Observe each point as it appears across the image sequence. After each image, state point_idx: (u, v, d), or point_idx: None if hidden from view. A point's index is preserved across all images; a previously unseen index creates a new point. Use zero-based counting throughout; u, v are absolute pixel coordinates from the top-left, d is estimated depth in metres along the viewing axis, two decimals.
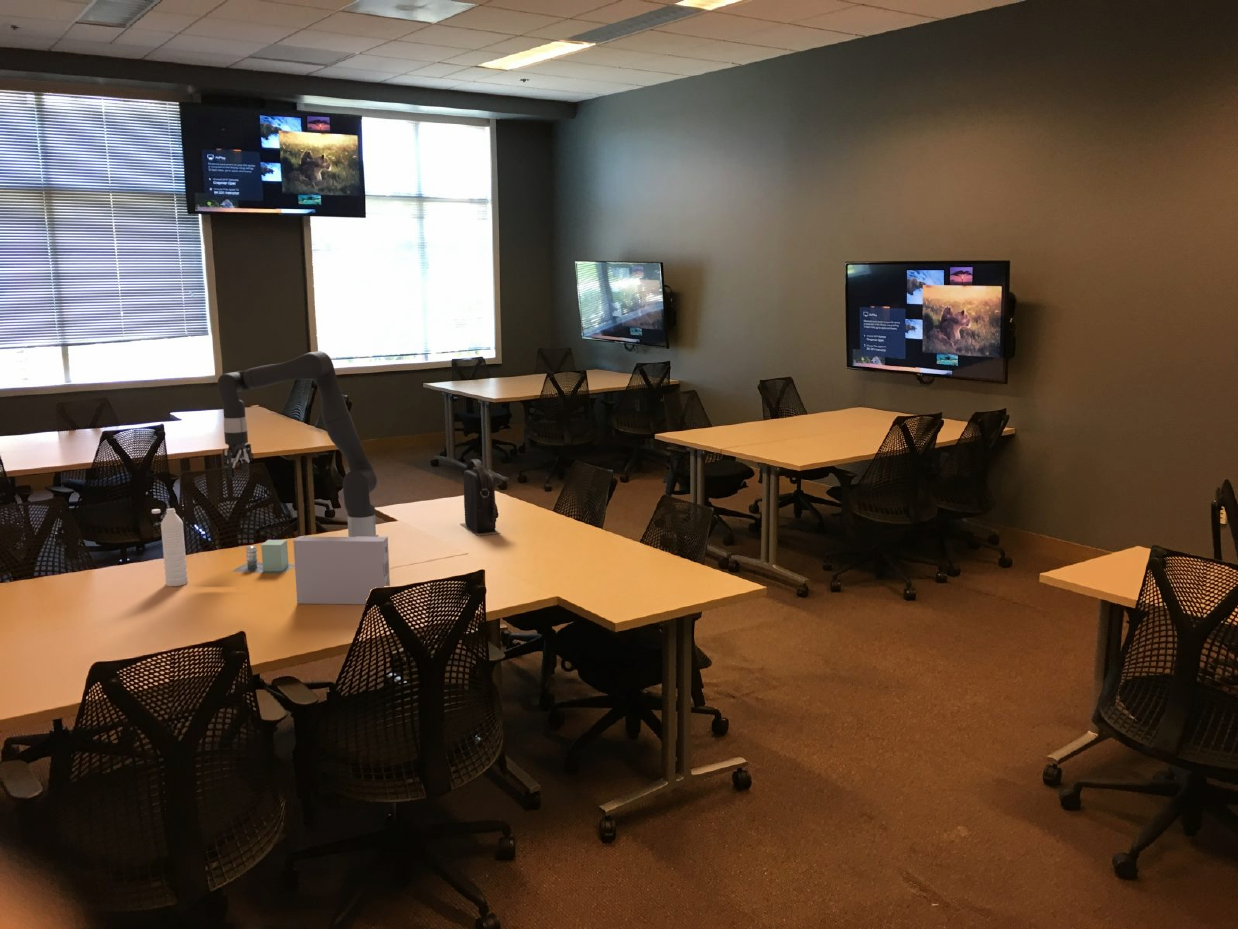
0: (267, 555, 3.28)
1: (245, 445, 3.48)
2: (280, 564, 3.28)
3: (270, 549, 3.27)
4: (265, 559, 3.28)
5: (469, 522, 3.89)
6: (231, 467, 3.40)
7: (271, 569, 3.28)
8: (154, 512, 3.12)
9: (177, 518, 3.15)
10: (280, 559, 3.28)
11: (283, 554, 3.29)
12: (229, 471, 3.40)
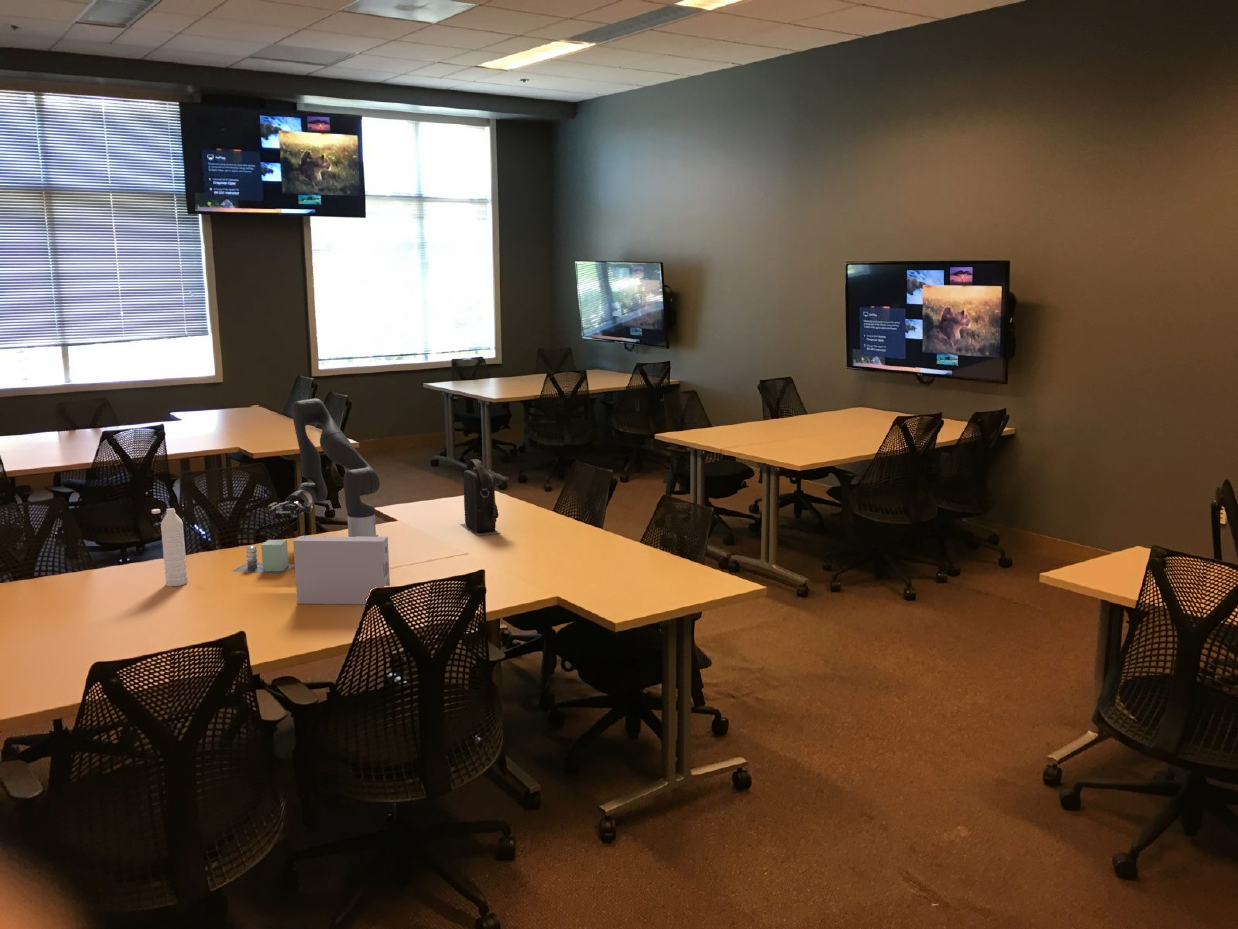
0: (267, 555, 3.28)
1: (306, 504, 3.49)
2: (280, 564, 3.28)
3: (270, 549, 3.27)
4: (265, 559, 3.28)
5: (469, 522, 3.89)
6: (272, 508, 3.43)
7: (271, 569, 3.28)
8: (154, 512, 3.12)
9: (177, 518, 3.15)
10: (280, 559, 3.28)
11: (283, 554, 3.29)
12: None
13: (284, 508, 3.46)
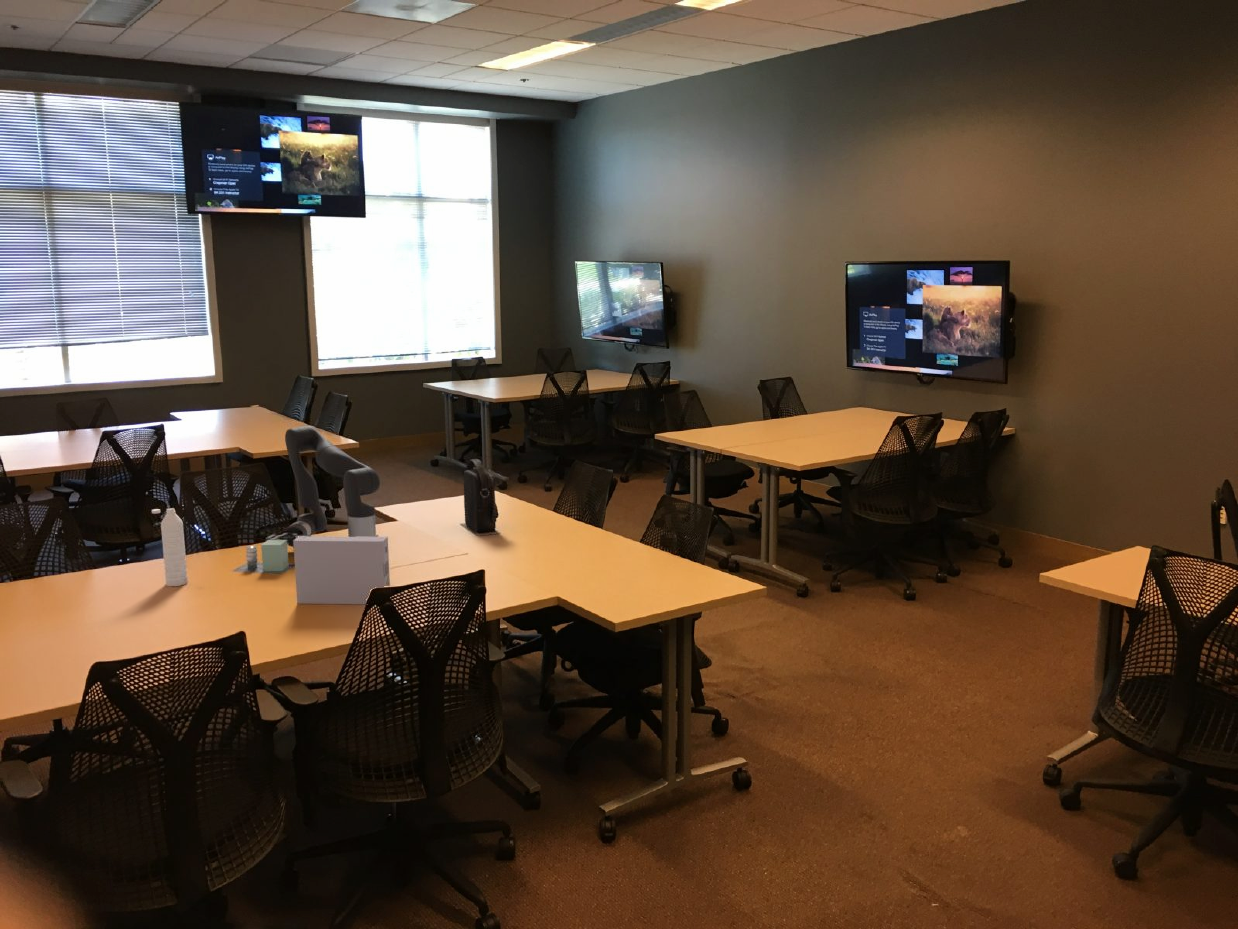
0: (267, 555, 3.28)
1: None
2: (280, 564, 3.28)
3: (270, 549, 3.27)
4: (265, 559, 3.28)
5: (469, 522, 3.89)
6: None
7: (271, 569, 3.28)
8: (154, 512, 3.12)
9: (177, 518, 3.15)
10: (280, 559, 3.28)
11: (283, 554, 3.29)
12: None
13: None
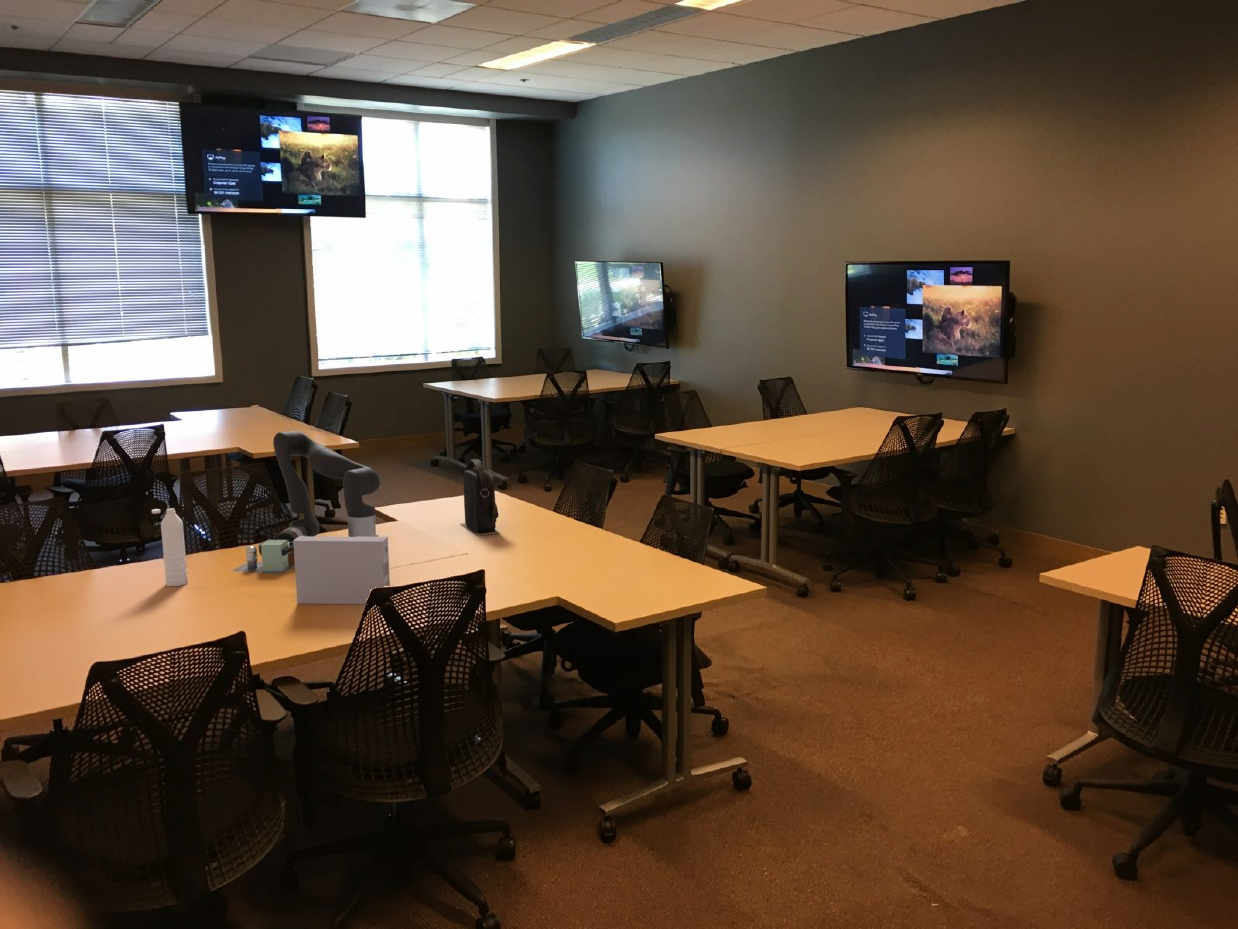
0: (267, 555, 3.28)
1: None
2: (280, 564, 3.28)
3: (270, 549, 3.27)
4: (265, 559, 3.28)
5: (469, 522, 3.89)
6: None
7: (271, 569, 3.28)
8: (154, 512, 3.12)
9: (177, 518, 3.15)
10: (280, 559, 3.28)
11: None
12: None
13: None
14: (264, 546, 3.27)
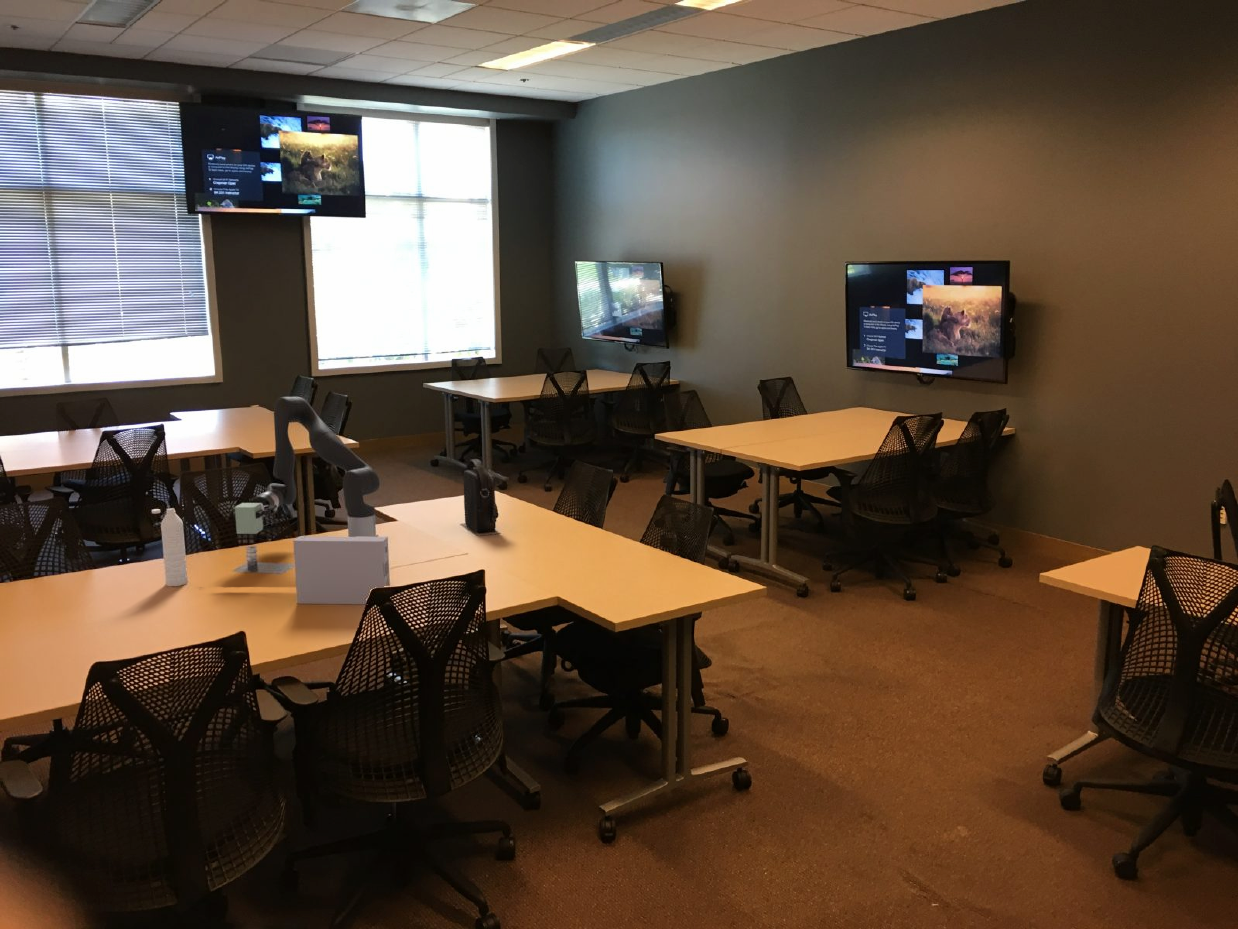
0: (241, 518, 3.27)
1: None
2: (254, 527, 3.27)
3: (244, 511, 3.26)
4: (239, 522, 3.27)
5: (469, 522, 3.89)
6: None
7: (245, 532, 3.28)
8: (154, 512, 3.12)
9: (177, 518, 3.15)
10: (254, 522, 3.27)
11: None
12: None
13: None
14: (238, 508, 3.26)
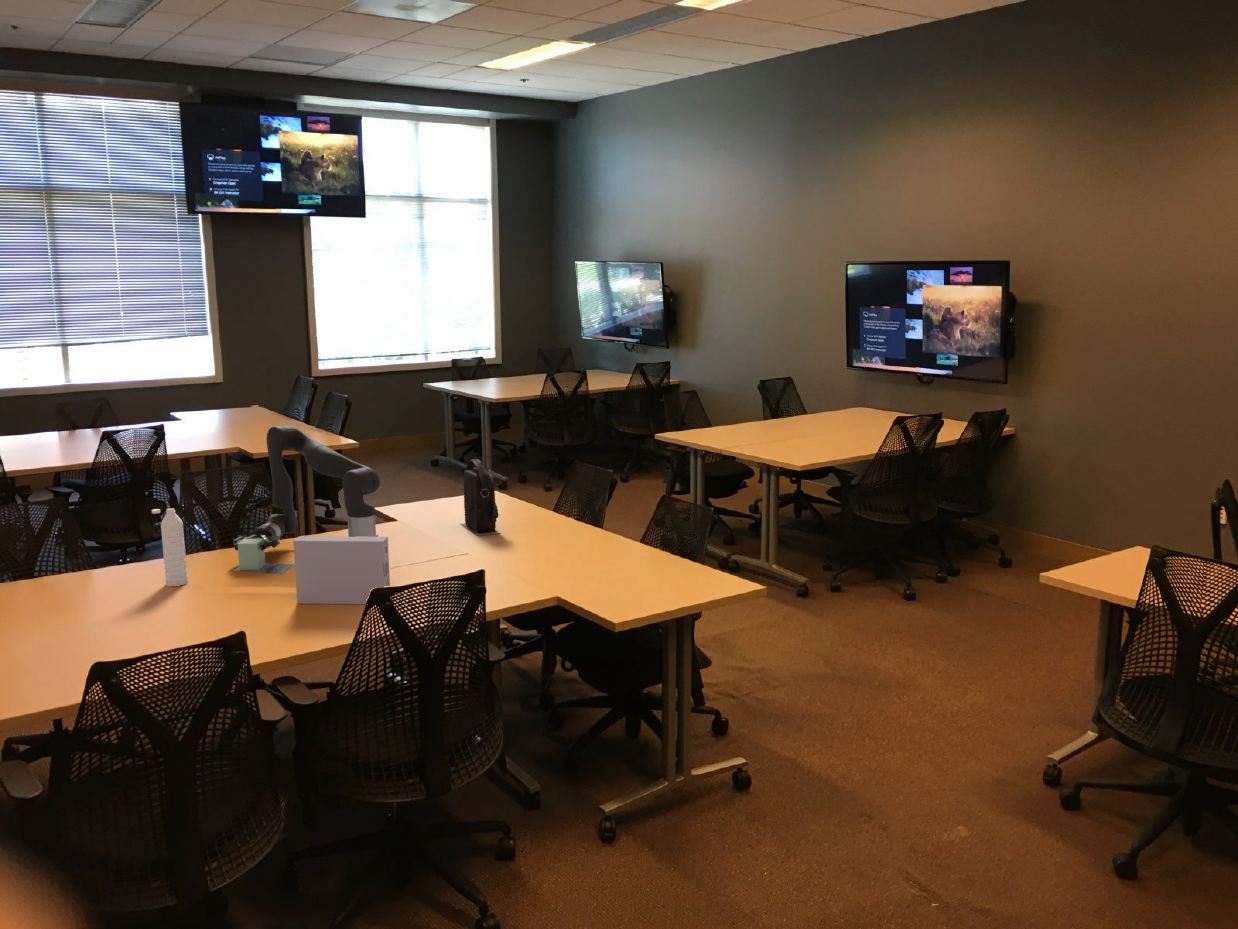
0: (243, 554, 3.29)
1: (273, 538, 3.40)
2: (256, 563, 3.30)
3: (246, 548, 3.29)
4: (242, 558, 3.29)
5: (469, 522, 3.89)
6: (237, 542, 3.34)
7: (248, 568, 3.30)
8: (154, 512, 3.12)
9: (177, 518, 3.15)
10: (256, 558, 3.29)
11: (259, 553, 3.31)
12: None
13: None
14: (241, 545, 3.29)
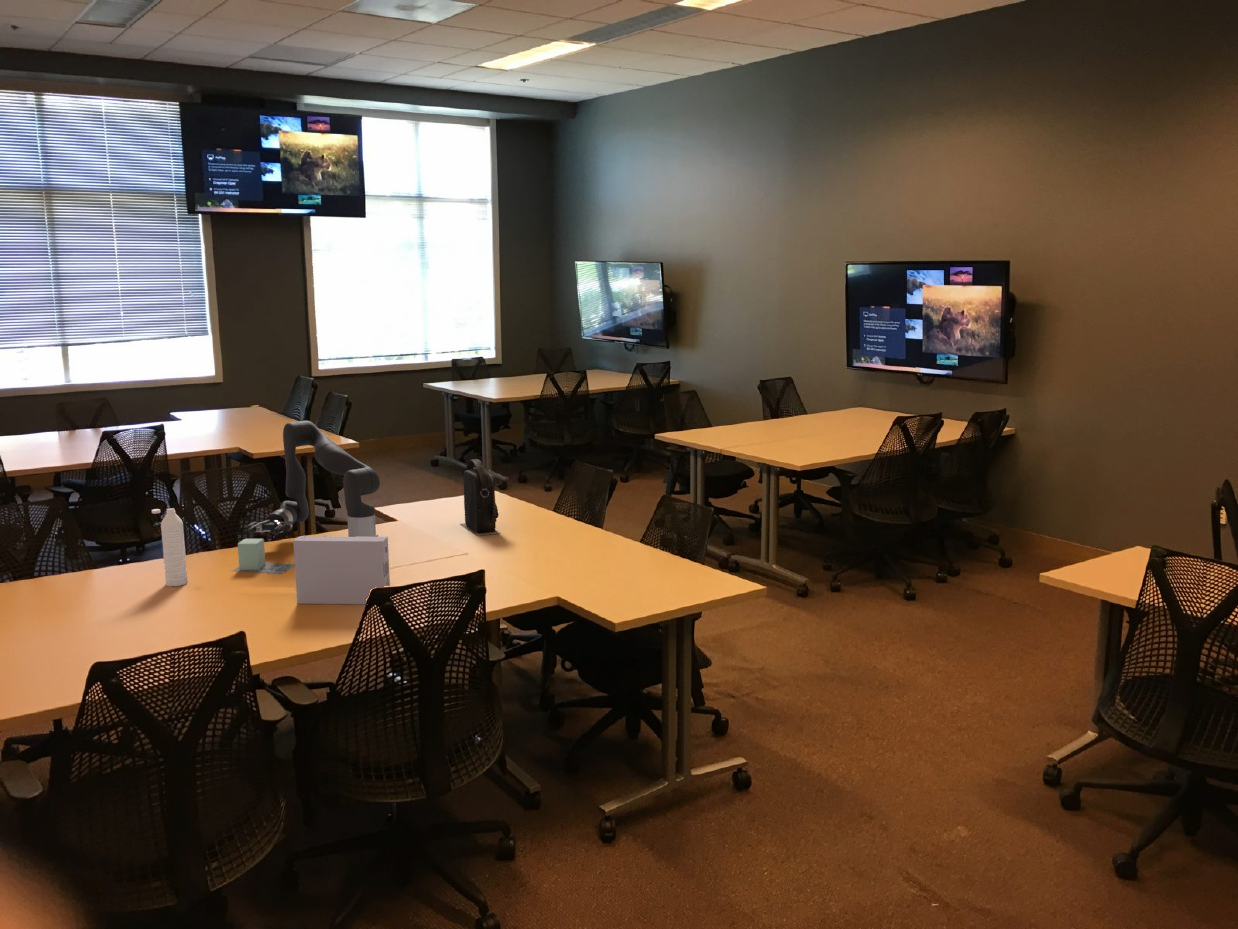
0: (243, 554, 3.29)
1: None
2: (256, 563, 3.30)
3: (246, 548, 3.29)
4: (242, 558, 3.29)
5: (469, 522, 3.89)
6: (251, 527, 3.46)
7: (248, 568, 3.30)
8: (154, 512, 3.12)
9: (177, 518, 3.15)
10: (256, 558, 3.29)
11: (259, 553, 3.31)
12: None
13: (264, 527, 3.48)
14: (241, 545, 3.29)
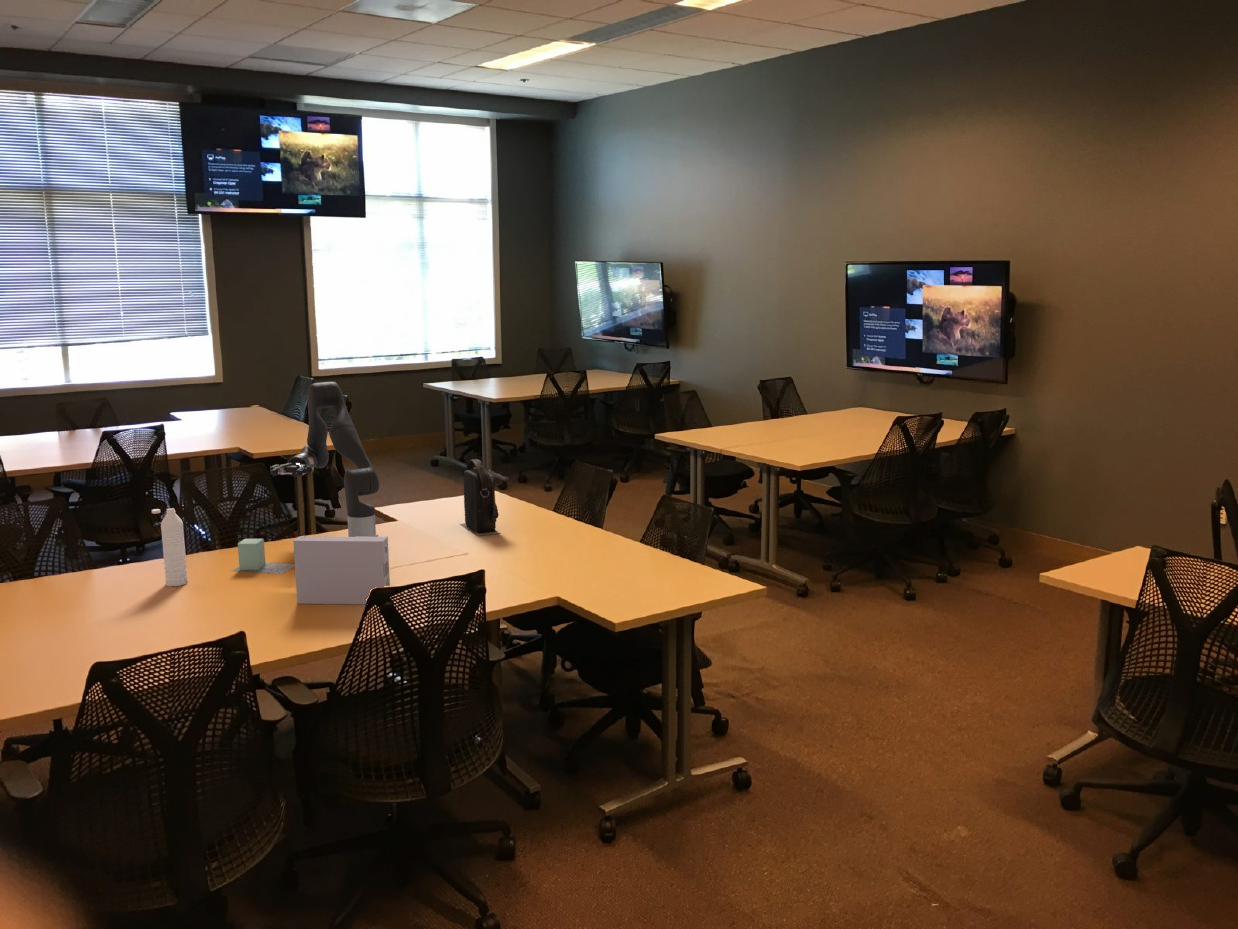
0: (243, 554, 3.29)
1: (307, 466, 3.57)
2: (256, 563, 3.30)
3: (246, 548, 3.29)
4: (242, 558, 3.29)
5: (469, 522, 3.89)
6: (274, 469, 3.51)
7: (248, 568, 3.30)
8: (154, 512, 3.12)
9: (177, 518, 3.15)
10: (256, 558, 3.29)
11: (259, 553, 3.31)
12: None
13: (286, 469, 3.53)
14: (241, 545, 3.29)
